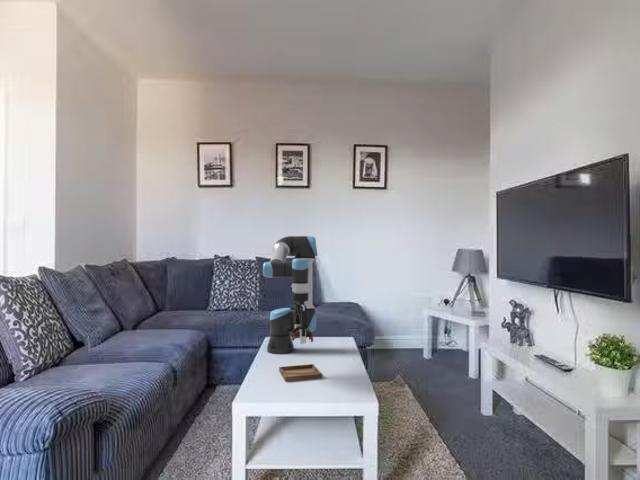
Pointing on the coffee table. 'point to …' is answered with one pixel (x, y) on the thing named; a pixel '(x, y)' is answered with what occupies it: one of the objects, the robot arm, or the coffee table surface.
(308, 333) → the pottery mug
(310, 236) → the robot arm
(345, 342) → the coffee table surface
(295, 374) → the walnut tray
